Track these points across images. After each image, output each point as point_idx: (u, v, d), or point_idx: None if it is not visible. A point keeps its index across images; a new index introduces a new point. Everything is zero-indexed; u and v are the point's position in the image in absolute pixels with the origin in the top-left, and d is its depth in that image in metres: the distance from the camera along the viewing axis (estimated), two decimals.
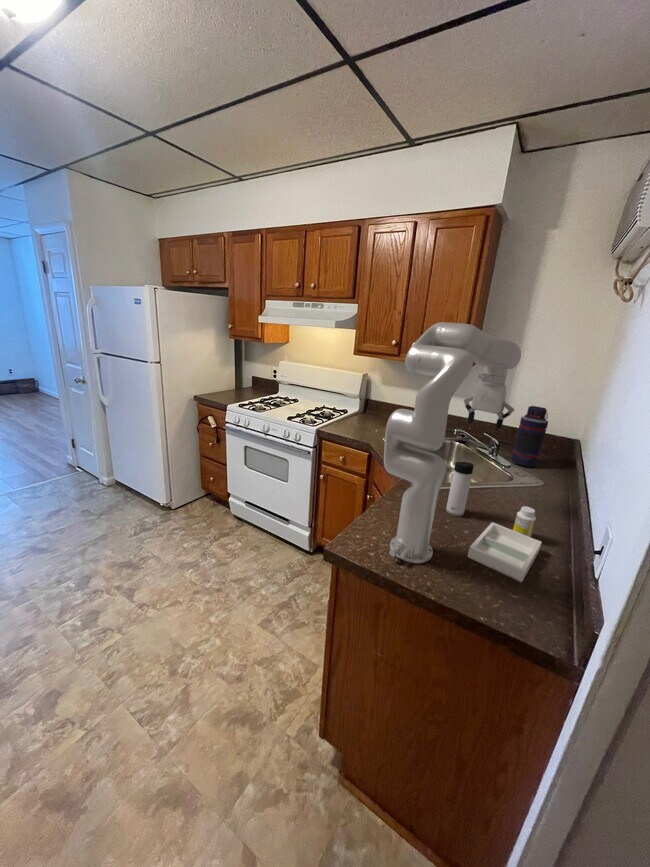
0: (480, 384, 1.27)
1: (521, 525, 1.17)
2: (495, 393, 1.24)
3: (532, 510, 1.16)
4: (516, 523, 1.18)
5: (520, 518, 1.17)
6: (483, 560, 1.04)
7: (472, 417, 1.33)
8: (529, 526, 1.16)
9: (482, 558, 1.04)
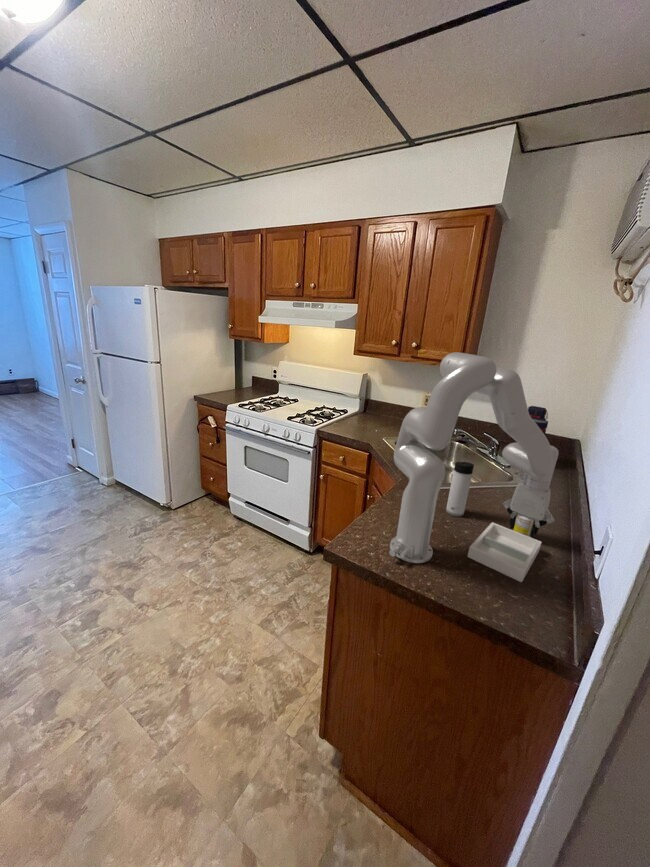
0: (521, 486, 1.15)
1: (521, 525, 1.17)
2: (538, 499, 1.12)
3: None
4: (516, 523, 1.18)
5: (520, 518, 1.17)
6: (483, 560, 1.04)
7: (514, 522, 1.20)
8: (529, 526, 1.16)
9: (482, 558, 1.04)
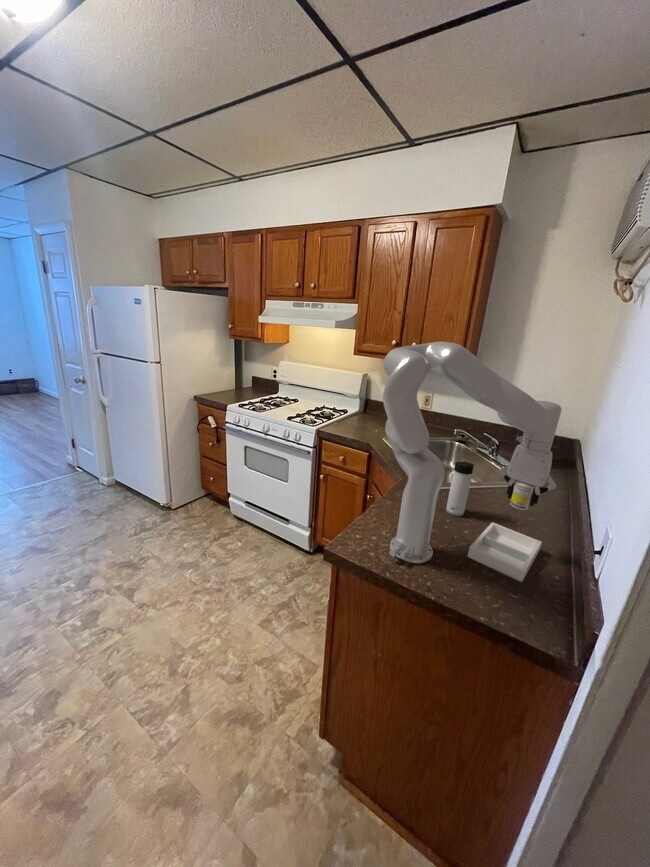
0: (519, 449, 1.03)
1: (519, 493, 1.05)
2: (539, 463, 1.00)
3: None
4: (514, 491, 1.07)
5: (518, 485, 1.05)
6: (483, 560, 1.04)
7: (512, 491, 1.09)
8: (529, 494, 1.04)
9: (482, 558, 1.04)
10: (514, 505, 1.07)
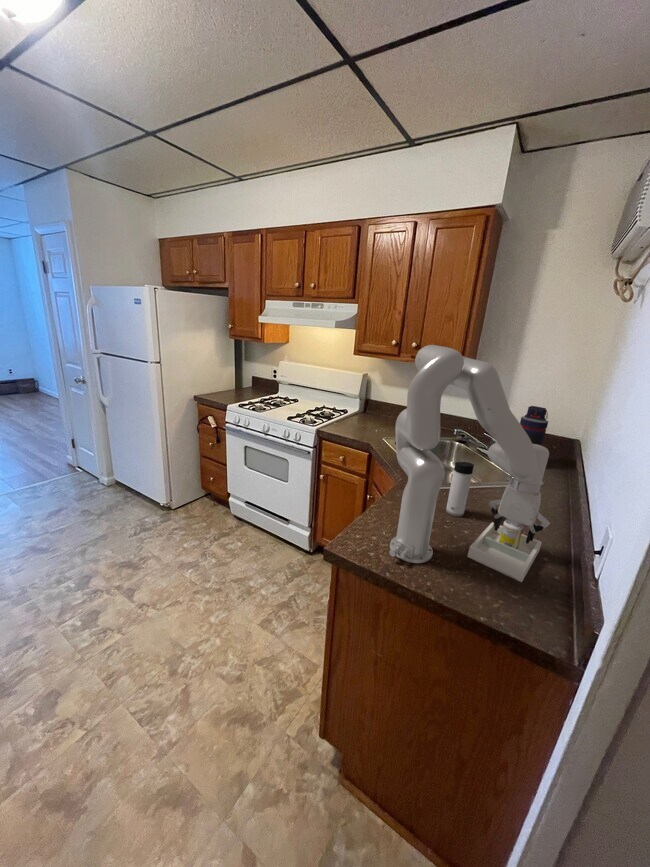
0: (509, 489, 1.07)
1: (507, 535, 1.10)
2: (528, 503, 1.04)
3: None
4: (502, 532, 1.11)
5: (506, 527, 1.10)
6: (483, 560, 1.04)
7: (499, 523, 1.13)
8: (516, 536, 1.09)
9: (482, 558, 1.04)
10: None
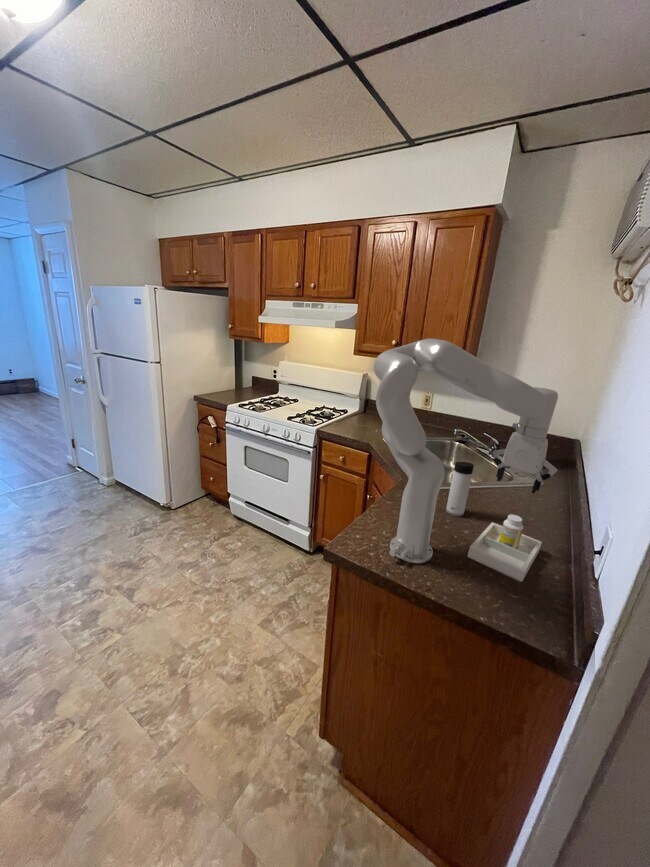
0: (515, 436, 1.03)
1: (507, 535, 1.10)
2: (534, 449, 1.00)
3: (519, 519, 1.09)
4: (502, 532, 1.11)
5: (506, 527, 1.10)
6: (483, 560, 1.04)
7: (502, 473, 1.09)
8: (516, 536, 1.09)
9: (482, 558, 1.04)
10: None
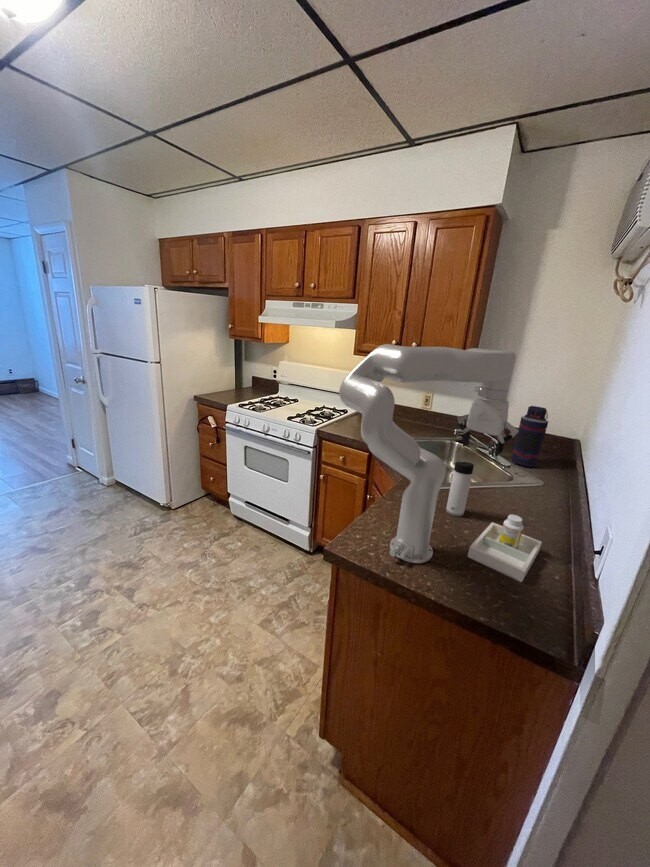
0: (477, 399, 1.04)
1: (507, 535, 1.10)
2: (495, 411, 1.01)
3: (519, 519, 1.09)
4: (502, 532, 1.11)
5: (506, 527, 1.10)
6: (483, 560, 1.04)
7: (467, 438, 1.10)
8: (516, 536, 1.09)
9: (482, 558, 1.04)
10: None
